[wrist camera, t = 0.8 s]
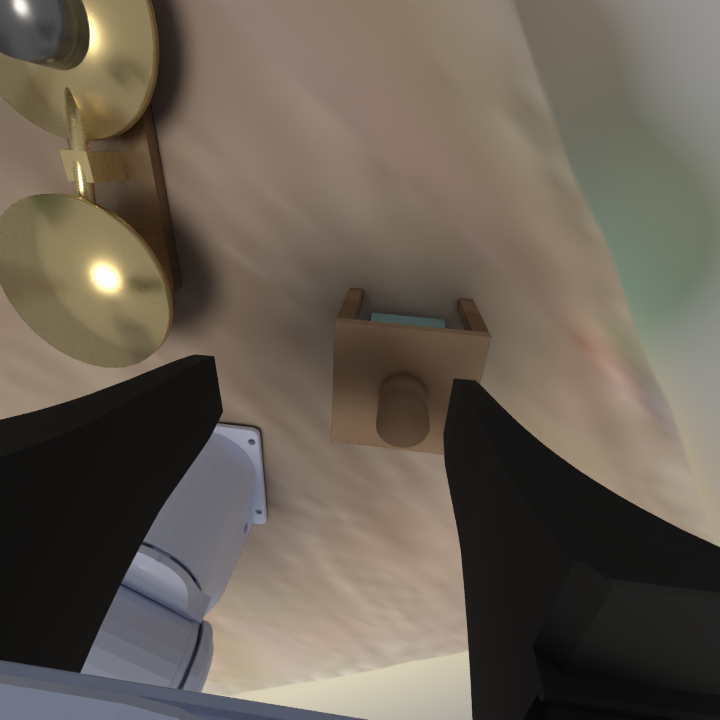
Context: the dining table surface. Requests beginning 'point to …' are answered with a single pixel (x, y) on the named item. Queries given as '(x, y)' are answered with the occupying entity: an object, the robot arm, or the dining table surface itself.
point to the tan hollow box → (400, 376)
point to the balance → (90, 180)
